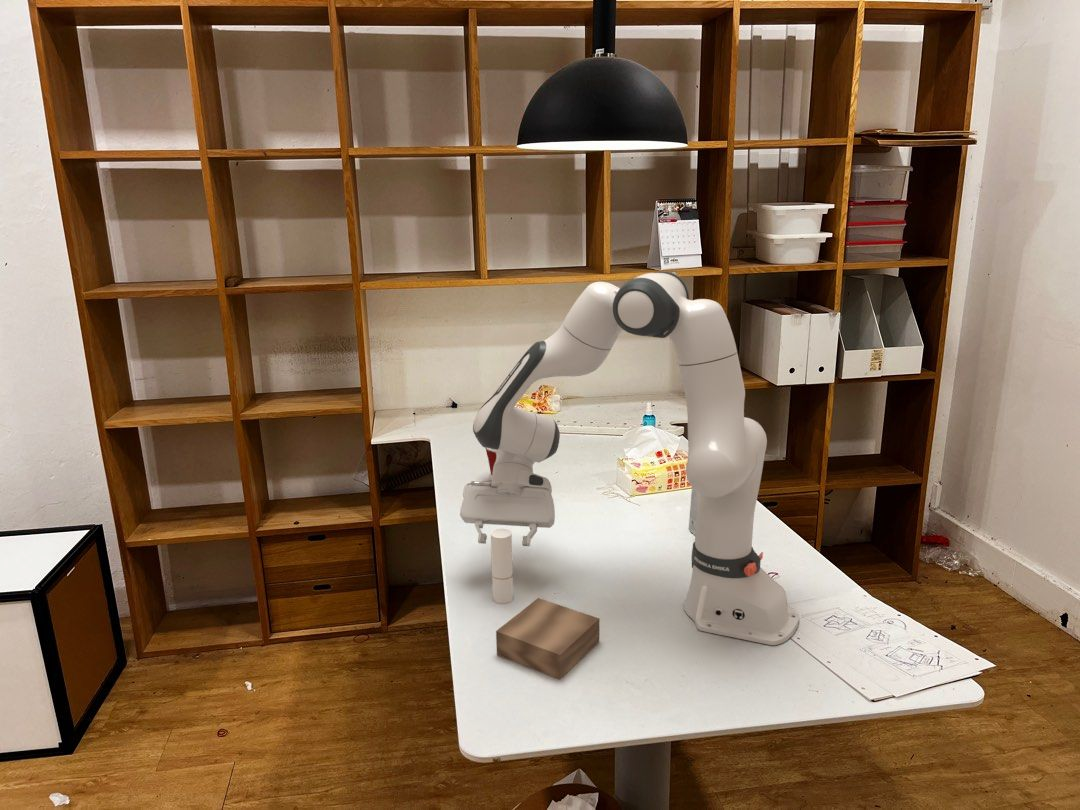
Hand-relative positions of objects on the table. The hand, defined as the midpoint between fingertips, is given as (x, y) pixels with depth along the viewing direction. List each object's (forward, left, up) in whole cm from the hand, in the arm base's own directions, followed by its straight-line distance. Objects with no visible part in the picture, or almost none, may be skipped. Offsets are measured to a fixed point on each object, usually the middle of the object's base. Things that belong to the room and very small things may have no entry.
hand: (503, 544), depth 168 cm
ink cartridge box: (-26, -48, -12) cm, 56 cm away
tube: (-1, +2, -11) cm, 12 cm away
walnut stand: (-19, +12, -11) cm, 25 cm away
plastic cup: (+36, -49, -11) cm, 62 cm away
